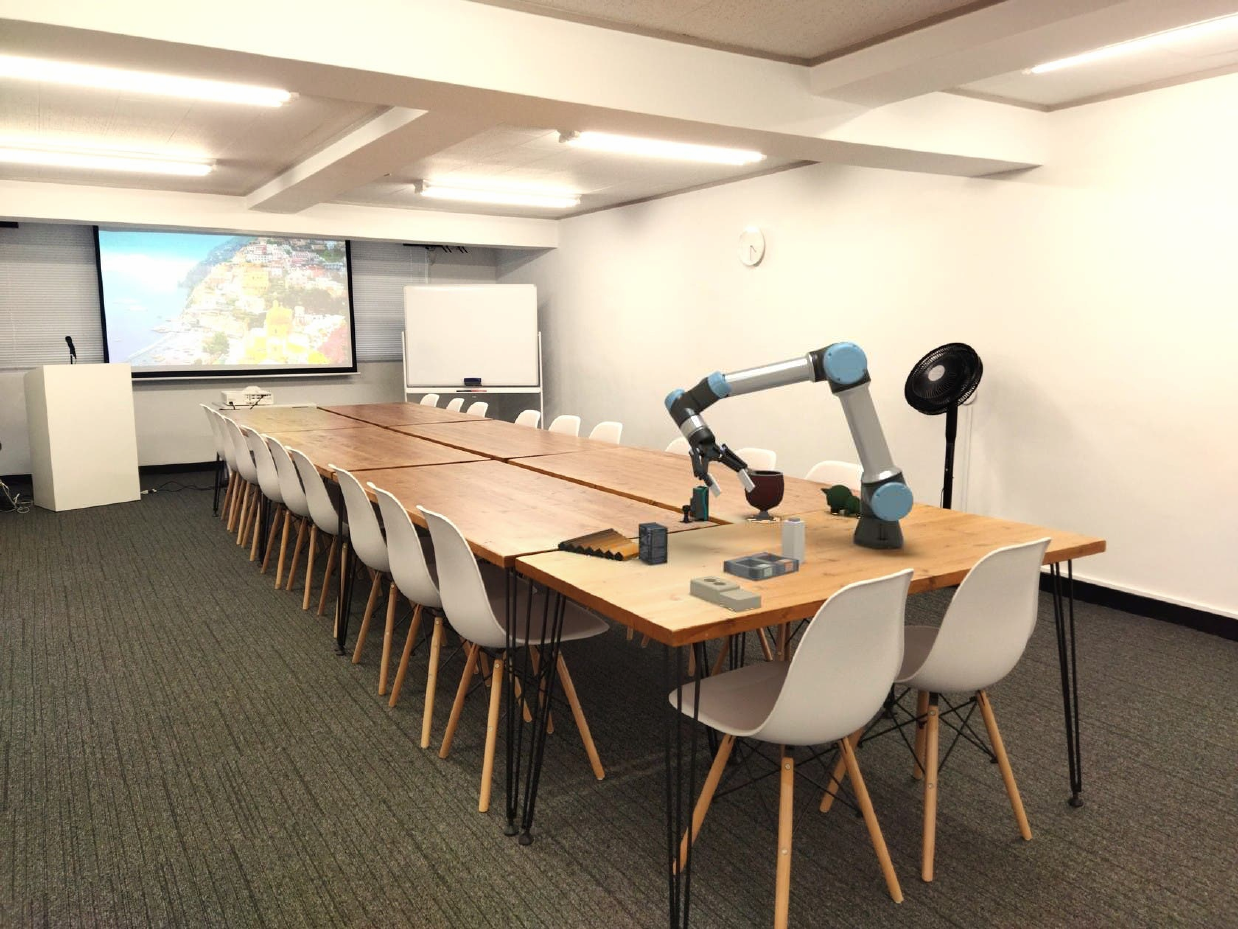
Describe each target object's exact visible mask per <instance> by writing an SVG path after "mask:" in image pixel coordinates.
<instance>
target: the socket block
mask: <svg viewBox="0 0 1238 929" xmlns="http://www.w3.org/2000/svg"><path fill="white" fill-rule="evenodd" d="M799 565H800V564H799V560H797V559H792V558H788V557H784V556H781V555H779V554H775V553H770V552H766V551H763V552H761V553H755V554H751V555H746V556H742V557H741V556H740V557H738V558H733V559H729V560H723V573H725V572H727V573H726V574H729V573H730V574H729V575H733V576H736V575H737V577H739V578H744V579H748V580H751V581H755V582H758V581H763V580H767V579H771V578H775V577H778V576H783V575H787V574H792V573H795V572H799V567H800V566H799Z"/></svg>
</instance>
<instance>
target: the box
mask: <svg viewBox="0 0 1238 929" xmlns="http://www.w3.org/2000/svg"><path fill="white" fill-rule="evenodd" d="M668 531H669V527H668V526H665V525H662V524H660V523H657V522H655V521H654V522H645V523H638V545H639V557H638V560H641V561H642V562H644V563H647V564H648V565H649V566H657V565H665V564H668V556H669V554H668V552H669V551H668V549H669V547H668V545H669V544H668V543H669V542H668V541H669V538H668V537H669V535H668V534H669V532H668Z"/></svg>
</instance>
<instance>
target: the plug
mask: <svg viewBox="0 0 1238 929" xmlns="http://www.w3.org/2000/svg"><path fill="white" fill-rule="evenodd" d="M781 522H782V524H781V526H782V527H781V555H780V556H784V557H788V558H792V559H797V560H799V565H801V564H804V563H805V544H806V543H805V542H806V541H805V540H806V521H805V520H801V518H799V517H788V518H787V519H785V520H781Z"/></svg>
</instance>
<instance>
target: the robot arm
mask: <svg viewBox="0 0 1238 929" xmlns="http://www.w3.org/2000/svg"><path fill="white" fill-rule="evenodd" d="M808 381H809V382H811V383H813V384H814V383H815V384H816V383H820V382H821V383H822V382H827V383H828V386H829V388H830V391H831V394H832V395H833V396H834V397H838V399H839V402H840V405H841V407H842V410H843V413H844V416H845V420H846V422H847V425H848V428H849V431H850V434H851V437H852V440H853V443H854V446H855V449H856V451H857V454H858V457H859V460H860V463H861V466H862V469H863V471H862V472H861V477H860V498H859V499H860V518H859V519H858V522H857V524H856V527H855V529H854V533H853V534H852V542H853V544H855V545H857V544H858V545H857V546H860V545H861V547H865V548H871V547H872V548H874V549H896V548H897V547H898V548H901V547H903V546H904V541H905V539H904V535H903V532H902V531H903V530H902V528H901V524H900V521H899V520H902V519H904V518H905V517H906V516H908V515H909V514H910V512H912V509H913V505H914V501H915V500H914V495H913V493H912V491H911V489H910V488H909V487H908V486H907V483H906V480H905V477H904V474H903V471H902V469H901V468H900V467H898V466H896V464H894V461H893V458H892V455H891V452H890V449H889V446H888V443H887V439H886V437H885V435H884V431H883V428H882V425H881V422H880V419H879V417H878V412H877V411H876V407H875V405H874V402H873V399H872V398H873V397H872V396H871V392H870V389H869V387H870V384H872V379H871V375H870V373H869V369H868V357H867V354H866V353H865V351H864V350H863V349H862V348H861V347H860V346H859V345H858V344H855V343H853V342H849V341H840V342H835V343H832V344H829V345H827V346H824V347H821V348H819V349H816V350H813V351H807V352H806V354H805V355H804V356H801V357H795V358H790V359H786V360H780V361H776V362H771V363H767V364H763V365H759V366H754V367H748V368H744V369H740V370H735V371H730V372H725V373H722V372H721V371H719V370H718V371H715V372H713V373H712V374H710V375H708V376H706V377H703V378H702V379H701V380H700V381H699V383H697V384H696V385H695V386H693V387H692V388H691V389H689V390H687V391H685V389H681V388H677V389H676V390H673V391H670V392H669V393H668V395H666V397H665V399H664V406H665V408H666V410H667V411H668V414H669V416H670V417H671V419H672V420H673V422H674V423H675V424H676V426H677V427H678V429H679V431H680V432H681V434H682V435H683V436H684V438H685V440H686V441H687V443H688V445H689V446H690V450H688V455H689V456H690V458H691V460H690V461H691V466H692V472H693V477H694V478H696V479H698V480H699V481H703V482H704V483H705V485H706V487H709V491H711V494H712V495H713V496H714V498H718V497H719V496H720V495H721V494H722V493H723V490H722V488H721V487H720V485H719V484H718V482H717V481H716V479H715V478H714V476H713V475H712V473H710V472H709V465H710V462H717V463H718V464H719V463H721V464H723V465H724V466H726V467H728V468H729V470H730V469H731V470H732V471H734V472H736V473H737V474H736V476H737V477H738V479H739V481H740V482H741V484H742V485H743V487H744V489H745V488H746V490H747V491H748V492H751V491H752V489H753V488H754V487H755V486H754V484H753V483H752V481H751V480H750V477H749V476H748V474H747V469H746V468H747V467H748V466H749V465H748V464H747V463H746V462H745V461H744V460H743V459H741V458H740V457H739V456H738V455H737V454H736V453H734V452H733V450H731V449H730V448H729V447H728V446H727V444H726V443H722V444H721V445H718V444H717V443H716V436H715V434H714V433H713V431H712V430H711V428H709V425H708V423H707V422H706V421H705V419H704V418H703V417H702V415H701V413H703V412H704V411H705V410H707V409H709V408H710V407H711V406H712V405H714V404H716V403H717V402H718V401H720V400H723V399H728V398H732V397H738V396H741V395H745V394H746V395H747V394H751V393H756V392H761V391H764V390H771V389H775V388H780V387H785V386H789V385H794V384H798V383H803V382H808ZM748 468H749V467H748ZM708 472H709V473H708Z"/></svg>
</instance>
